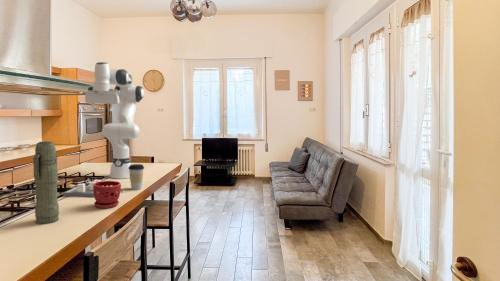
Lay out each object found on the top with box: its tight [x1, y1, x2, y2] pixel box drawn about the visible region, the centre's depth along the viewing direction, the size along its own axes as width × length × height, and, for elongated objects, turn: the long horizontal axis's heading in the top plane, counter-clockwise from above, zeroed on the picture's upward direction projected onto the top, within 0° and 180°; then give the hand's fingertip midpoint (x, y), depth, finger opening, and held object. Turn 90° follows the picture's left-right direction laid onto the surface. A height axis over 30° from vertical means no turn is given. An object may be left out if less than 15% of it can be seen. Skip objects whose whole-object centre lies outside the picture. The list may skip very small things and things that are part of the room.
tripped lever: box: [76, 183, 86, 192], centre depth 190 cm, size 3×3×4 cm
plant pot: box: [93, 180, 122, 209], centre depth 172 cm, size 13×13×12 cm
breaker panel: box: [62, 185, 98, 198], centre depth 196 cm, size 16×18×2 cm
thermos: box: [32, 141, 60, 225], centre depth 146 cm, size 9×12×35 cm
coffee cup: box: [128, 163, 145, 191], centre depth 209 cm, size 9×9×15 cm
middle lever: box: [88, 181, 96, 190], centre depth 196 cm, size 3×3×4 cm
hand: (102, 111), depth 208 cm, fingers open, 8 cm apart
